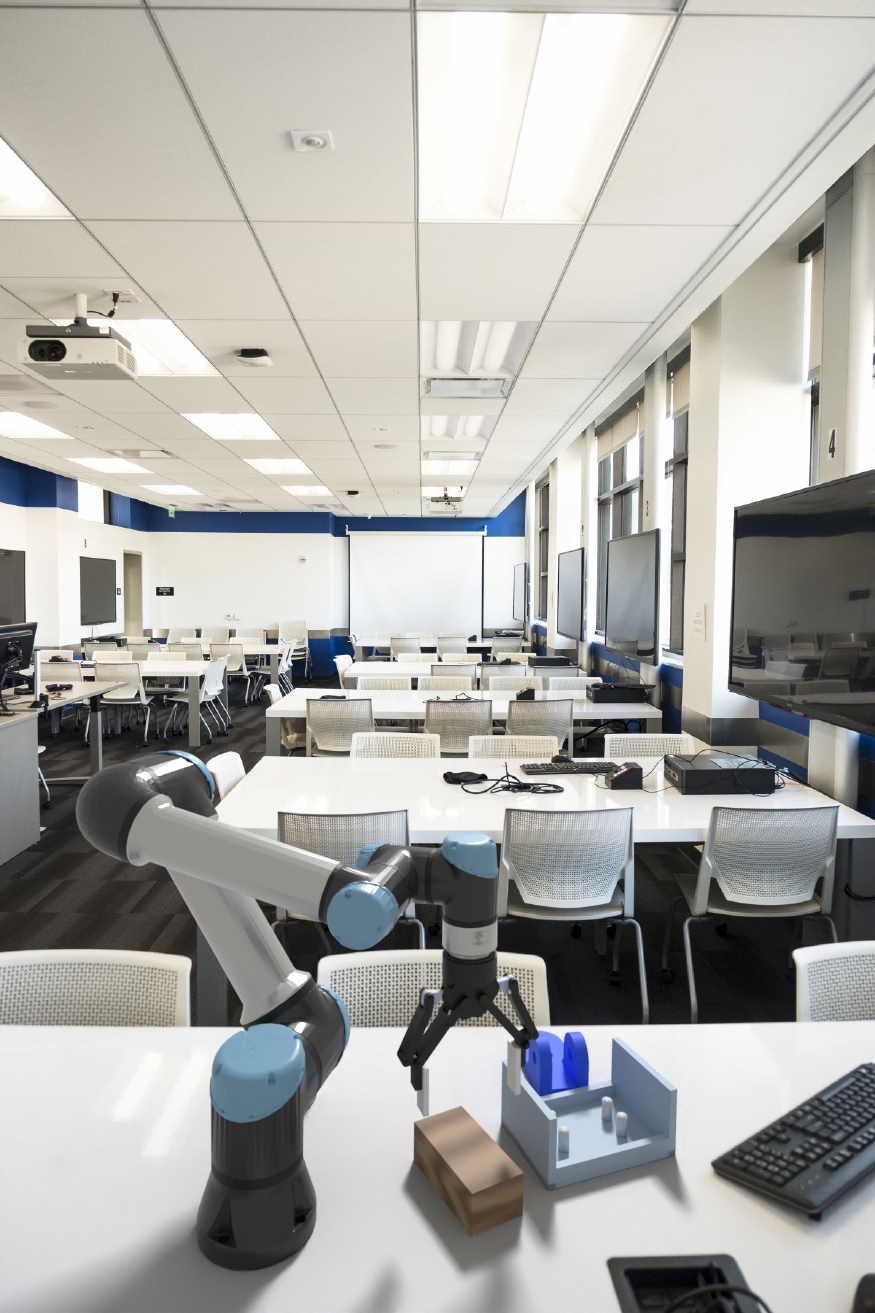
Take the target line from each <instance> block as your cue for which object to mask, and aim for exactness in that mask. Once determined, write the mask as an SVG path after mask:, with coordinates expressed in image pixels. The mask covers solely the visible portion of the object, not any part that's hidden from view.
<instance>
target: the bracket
mask: <svg viewBox="0 0 875 1313" xmlns="http://www.w3.org/2000/svg"><path fill="white" fill-rule="evenodd" d="M537 1031H538V1033H539V1037H538V1039H536V1040H533V1039H532V1040H530V1041H529V1042H530V1047H529V1048H528V1049H527V1050H526V1064H525V1067H523V1069H524V1068H525V1069H524V1071H525V1073H526V1076H527V1078H528V1077H529V1078H528V1079H530V1080H529V1082H530V1083H531V1084H530V1085H531V1087H532V1088H533V1089H534V1090H535V1092H536V1093H537V1094H538V1095H539V1096H540V1097H541V1096H545V1095H550V1094H554V1093H559V1092H563V1091H567V1090H572V1089H576V1088H580V1087H585V1086H589V1085H590V1084H589V1083H590V1082H589V1079H590V1077H589V1076H590V1058H589V1049H588V1046H587V1043H586V1038H585V1036H584V1034H583V1033H582V1032H581V1031H568V1032H565V1033H564V1038H563V1040H562V1038H560V1036H558V1035H556V1034H555V1033H552V1032H549V1031H545V1030H537Z"/></svg>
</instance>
